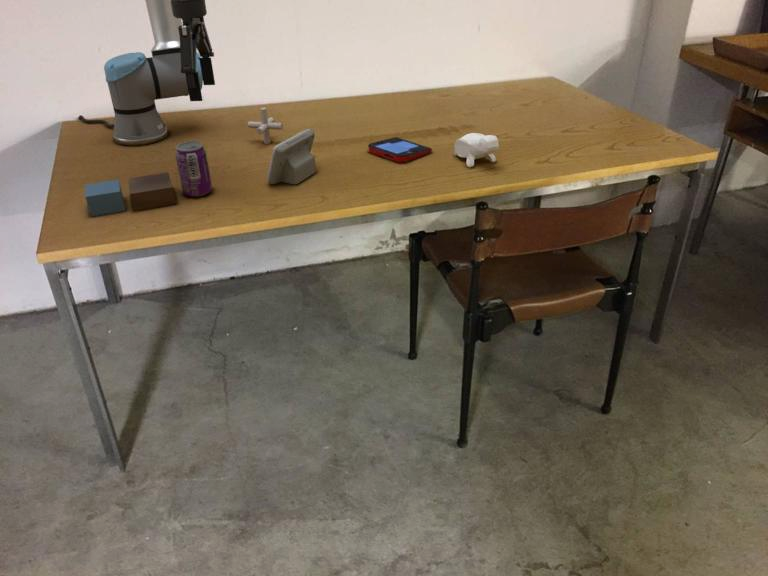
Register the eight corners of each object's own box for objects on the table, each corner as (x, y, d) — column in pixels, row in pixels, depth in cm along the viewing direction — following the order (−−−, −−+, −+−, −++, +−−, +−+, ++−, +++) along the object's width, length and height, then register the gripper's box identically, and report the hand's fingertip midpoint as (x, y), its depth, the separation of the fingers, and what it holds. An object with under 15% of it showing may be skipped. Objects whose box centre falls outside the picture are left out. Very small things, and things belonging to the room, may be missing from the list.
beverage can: (218, 189, 158) (210, 143, 152) (200, 200, 153) (191, 153, 146) (195, 184, 161) (187, 139, 154) (177, 195, 155) (167, 148, 149)
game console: (433, 152, 177) (433, 144, 176) (401, 165, 170) (401, 157, 168) (396, 140, 186) (396, 132, 184) (364, 151, 178) (364, 144, 177)
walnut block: (132, 195, 156) (127, 178, 153) (171, 189, 159) (168, 172, 156) (134, 211, 148) (130, 193, 146) (176, 204, 151) (172, 186, 149)
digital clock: (304, 162, 172) (301, 124, 166) (328, 171, 167) (326, 131, 161) (258, 181, 162) (253, 141, 156) (282, 191, 157) (278, 150, 151)
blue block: (90, 203, 152) (85, 184, 149) (123, 198, 154) (118, 179, 152) (91, 216, 146) (85, 196, 144) (125, 210, 149) (120, 191, 146)
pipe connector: (277, 149, 181) (274, 114, 175) (244, 147, 182) (240, 113, 177) (289, 137, 189) (285, 104, 183) (257, 135, 190) (253, 102, 185)
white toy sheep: (452, 168, 175) (482, 166, 161) (447, 137, 173) (477, 132, 159) (478, 162, 178) (510, 160, 165) (474, 132, 176) (505, 127, 163)
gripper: (190, 6, 132) (206, 107, 144) (215, -12, 153) (228, 78, 165) (154, 7, 132) (173, 108, 144) (184, -11, 153) (199, 78, 165)
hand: (203, 92), depth 154 cm, fingers open, 13 cm apart
